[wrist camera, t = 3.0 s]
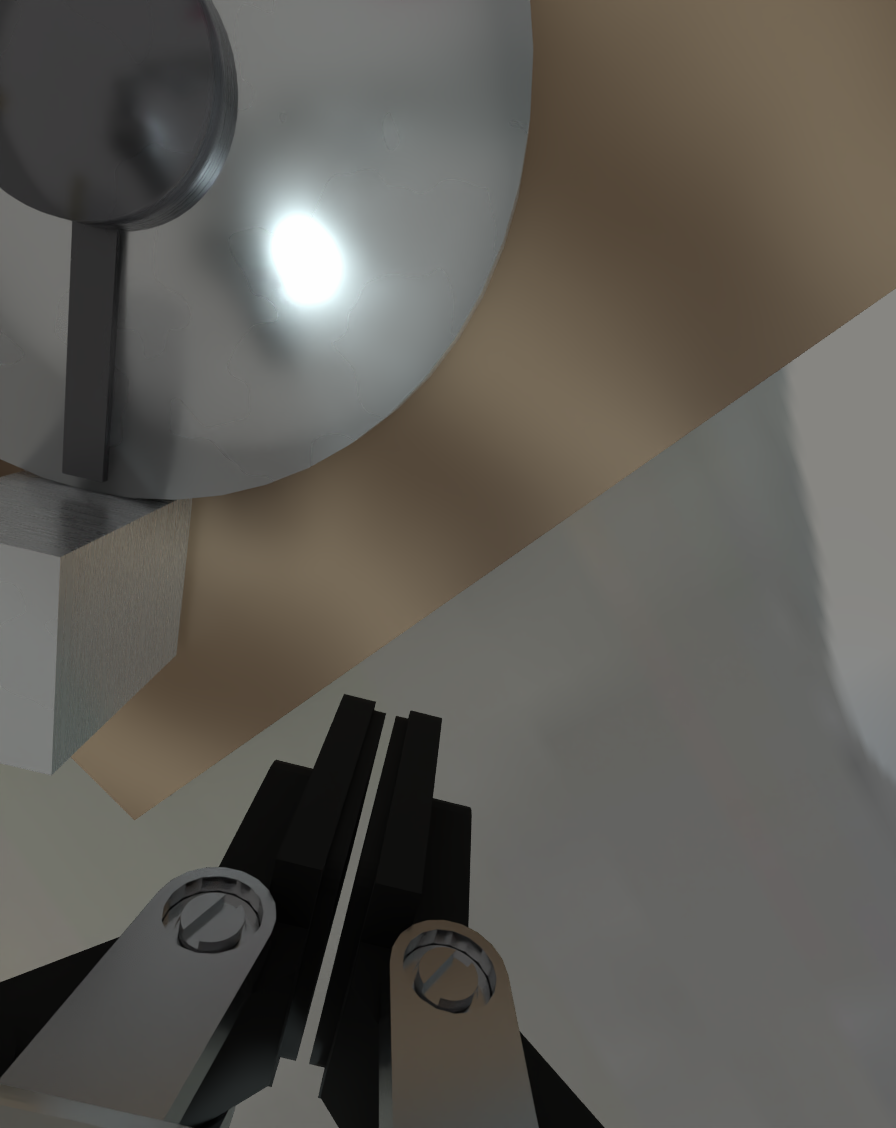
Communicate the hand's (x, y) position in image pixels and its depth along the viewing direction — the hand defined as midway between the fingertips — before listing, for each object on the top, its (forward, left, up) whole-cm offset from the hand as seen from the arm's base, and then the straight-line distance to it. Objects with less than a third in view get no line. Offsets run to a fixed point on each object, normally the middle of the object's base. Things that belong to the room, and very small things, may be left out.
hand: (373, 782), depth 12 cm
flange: (-1, -10, -5) cm, 11 cm away
